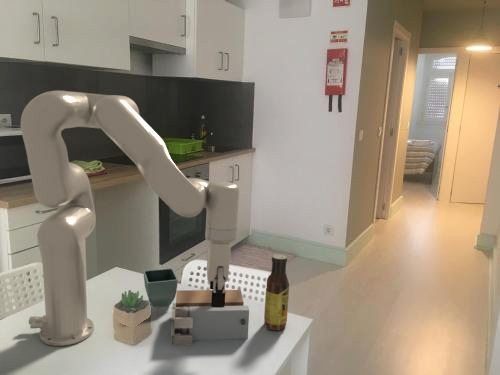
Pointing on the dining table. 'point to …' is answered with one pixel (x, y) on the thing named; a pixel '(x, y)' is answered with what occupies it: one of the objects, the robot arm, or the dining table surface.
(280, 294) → the sauce bottle
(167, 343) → the dining table surface
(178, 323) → the hinge clips
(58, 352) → the dining table surface
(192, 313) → the door
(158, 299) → the flower pot
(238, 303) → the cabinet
